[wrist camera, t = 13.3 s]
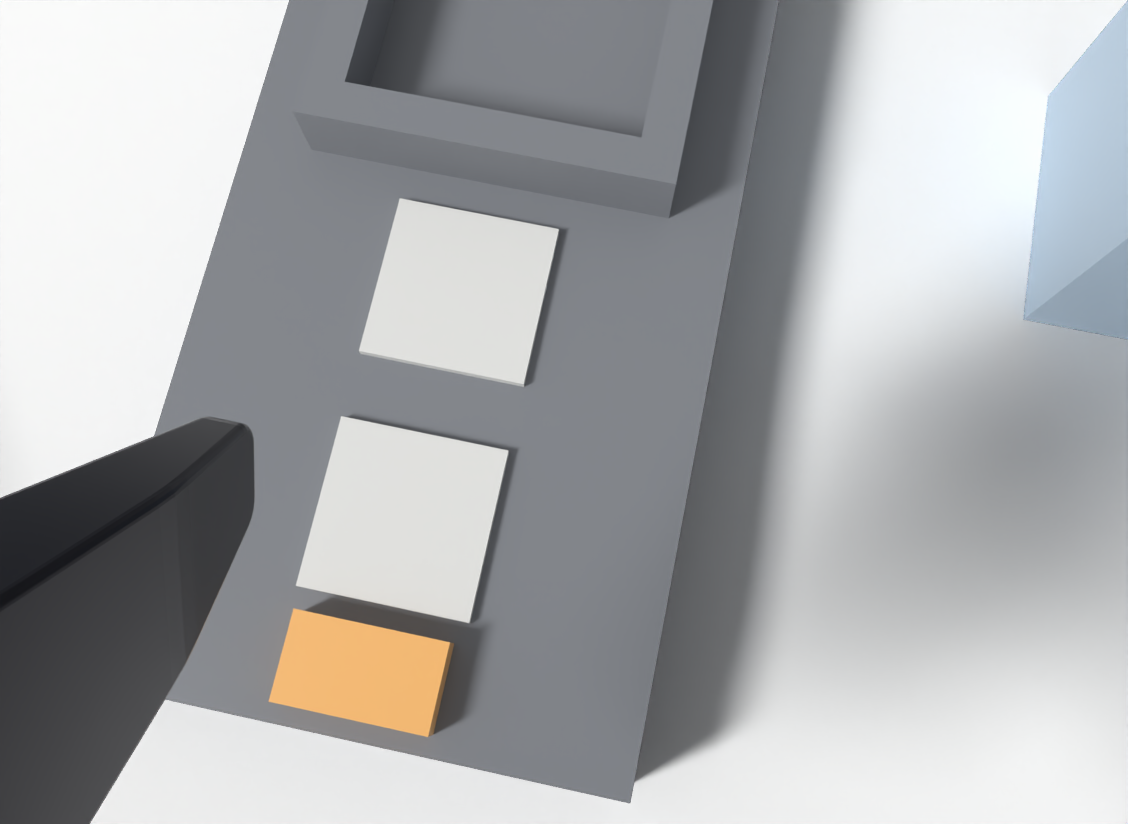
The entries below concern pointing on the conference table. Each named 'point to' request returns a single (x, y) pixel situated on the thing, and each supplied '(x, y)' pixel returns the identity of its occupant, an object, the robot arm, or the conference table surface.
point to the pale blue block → (1085, 195)
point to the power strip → (470, 368)
